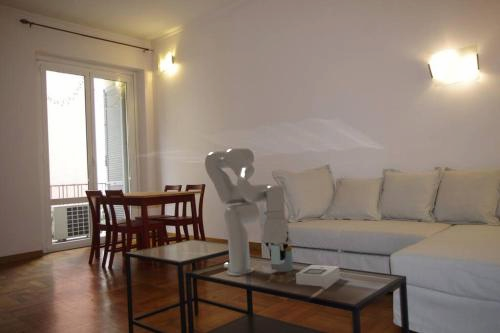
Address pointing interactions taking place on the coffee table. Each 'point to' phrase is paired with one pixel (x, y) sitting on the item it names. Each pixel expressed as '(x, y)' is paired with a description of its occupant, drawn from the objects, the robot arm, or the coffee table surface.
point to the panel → (318, 276)
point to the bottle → (288, 260)
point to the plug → (276, 258)
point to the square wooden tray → (280, 277)
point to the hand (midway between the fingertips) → (277, 258)
